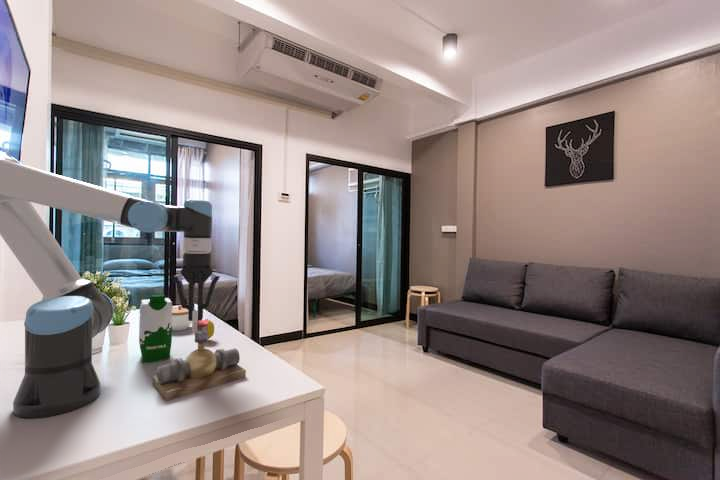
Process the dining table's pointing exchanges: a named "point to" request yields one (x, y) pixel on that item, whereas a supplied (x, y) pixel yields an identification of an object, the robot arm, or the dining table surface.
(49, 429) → the dining table surface
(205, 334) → the lever
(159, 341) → the milk carton
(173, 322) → the lidded jar
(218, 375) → the valve rig
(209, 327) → the lemon
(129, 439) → the dining table surface
